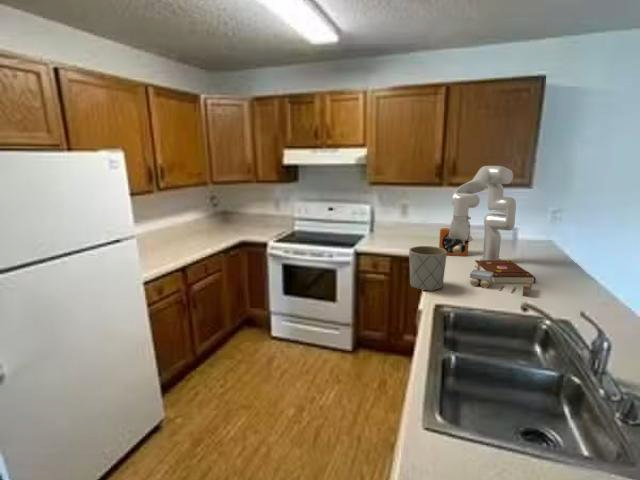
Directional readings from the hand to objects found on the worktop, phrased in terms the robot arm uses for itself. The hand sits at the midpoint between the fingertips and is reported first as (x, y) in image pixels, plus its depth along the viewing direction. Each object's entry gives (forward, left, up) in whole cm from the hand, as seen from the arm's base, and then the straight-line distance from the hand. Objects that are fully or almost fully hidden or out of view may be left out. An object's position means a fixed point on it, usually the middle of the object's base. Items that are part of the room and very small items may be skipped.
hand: (458, 250), depth 208 cm
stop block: (0, +35, -17) cm, 39 cm away
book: (-25, +19, -18) cm, 36 cm away
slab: (0, +13, -13) cm, 18 cm away
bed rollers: (0, +19, -17) cm, 25 cm away
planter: (+17, -11, -17) cm, 27 cm away
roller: (0, 0, -1) cm, 1 cm away
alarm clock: (-54, -18, -17) cm, 60 cm away
